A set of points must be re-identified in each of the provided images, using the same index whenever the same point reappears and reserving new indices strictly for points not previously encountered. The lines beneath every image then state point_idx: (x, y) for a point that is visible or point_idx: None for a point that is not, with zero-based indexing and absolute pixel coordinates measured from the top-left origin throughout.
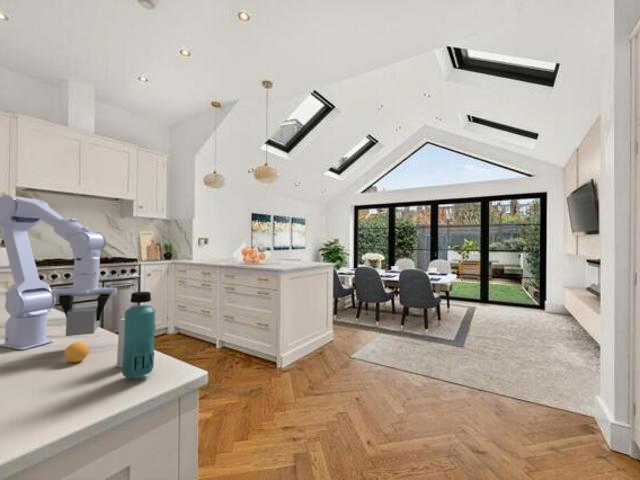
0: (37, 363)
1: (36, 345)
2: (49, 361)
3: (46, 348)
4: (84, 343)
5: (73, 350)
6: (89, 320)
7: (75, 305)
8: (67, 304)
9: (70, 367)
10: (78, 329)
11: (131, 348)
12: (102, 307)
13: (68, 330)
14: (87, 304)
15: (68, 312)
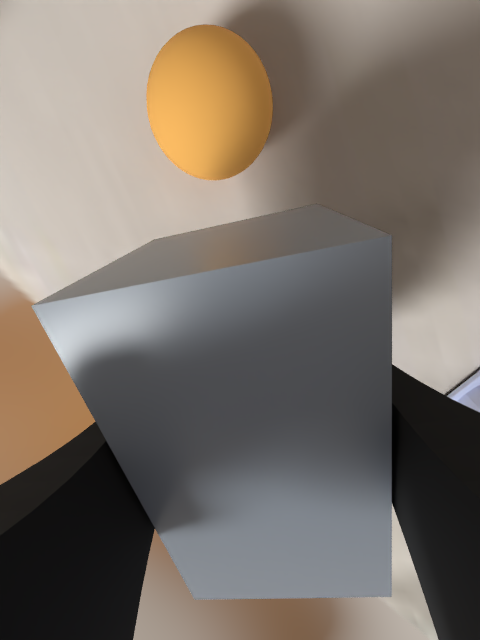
0: (399, 137)
1: (467, 383)
2: (351, 159)
3: (418, 354)
4: (160, 106)
5: (200, 26)
6: (144, 259)
7: (387, 578)
8: (476, 463)
9: (211, 21)
10: (238, 226)
11: None
12: (55, 453)
13: (307, 212)
14: (292, 592)
15: (364, 238)
